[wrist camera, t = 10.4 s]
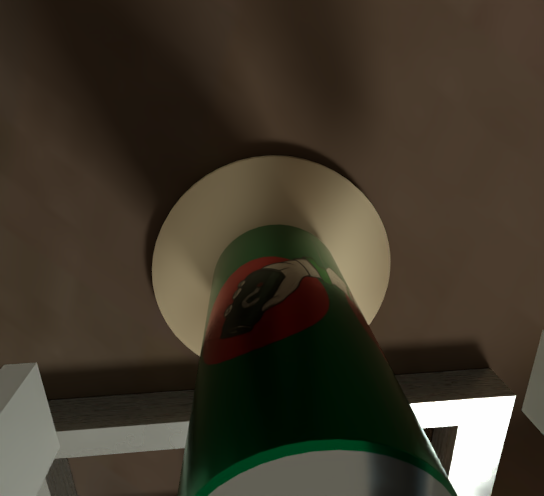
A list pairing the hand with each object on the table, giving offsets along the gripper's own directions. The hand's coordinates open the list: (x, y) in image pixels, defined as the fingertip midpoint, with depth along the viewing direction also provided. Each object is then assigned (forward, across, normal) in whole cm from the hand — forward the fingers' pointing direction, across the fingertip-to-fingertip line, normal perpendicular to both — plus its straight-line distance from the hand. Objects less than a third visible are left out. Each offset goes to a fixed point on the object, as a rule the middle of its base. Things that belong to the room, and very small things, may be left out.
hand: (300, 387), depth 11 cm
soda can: (+7, 0, 0) cm, 7 cm away
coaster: (+7, 0, 0) cm, 7 cm away
